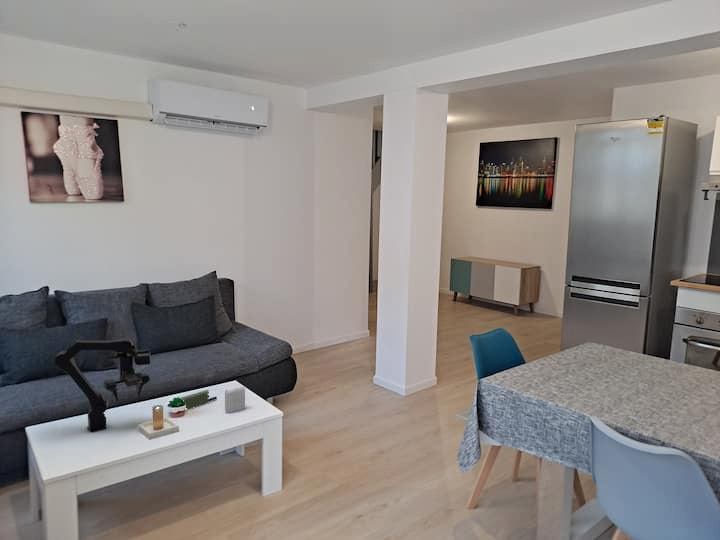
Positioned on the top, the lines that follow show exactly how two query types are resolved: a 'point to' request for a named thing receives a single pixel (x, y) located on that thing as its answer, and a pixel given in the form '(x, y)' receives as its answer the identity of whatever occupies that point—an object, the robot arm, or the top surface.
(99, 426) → the robot arm
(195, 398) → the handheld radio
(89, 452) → the top surface
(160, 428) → the battery cell
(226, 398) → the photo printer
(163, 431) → the tray
